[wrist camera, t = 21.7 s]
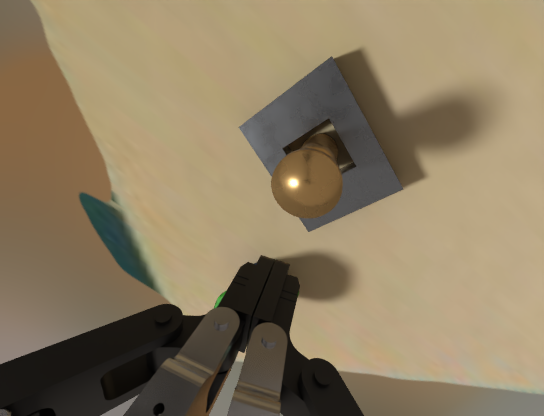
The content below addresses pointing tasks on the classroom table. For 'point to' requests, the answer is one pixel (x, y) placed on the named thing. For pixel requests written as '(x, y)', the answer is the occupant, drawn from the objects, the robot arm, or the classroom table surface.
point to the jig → (347, 122)
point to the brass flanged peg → (309, 178)
